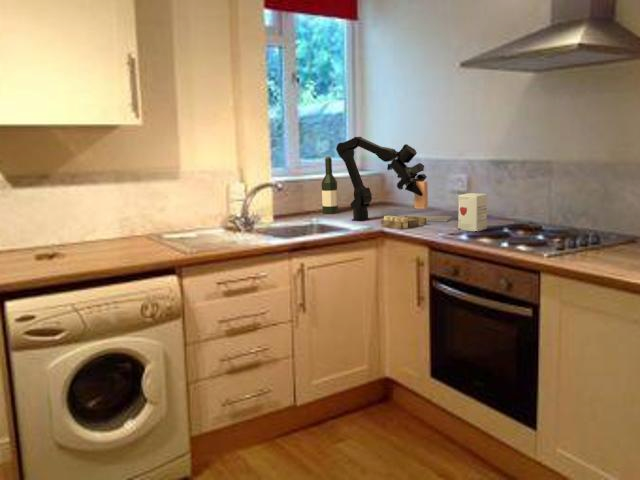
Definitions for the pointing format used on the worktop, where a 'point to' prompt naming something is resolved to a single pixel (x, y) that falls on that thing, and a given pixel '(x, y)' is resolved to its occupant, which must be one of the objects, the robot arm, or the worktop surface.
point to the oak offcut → (402, 219)
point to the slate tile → (436, 218)
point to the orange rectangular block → (421, 201)
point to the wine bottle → (329, 190)
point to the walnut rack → (399, 225)
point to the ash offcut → (390, 218)
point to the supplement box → (472, 212)
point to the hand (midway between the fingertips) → (423, 194)
